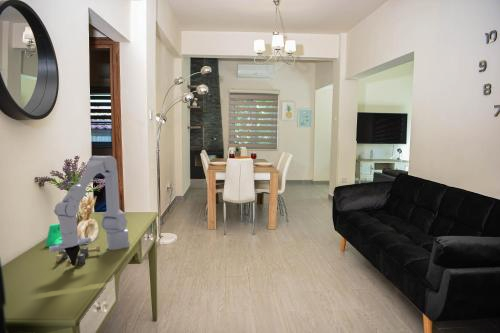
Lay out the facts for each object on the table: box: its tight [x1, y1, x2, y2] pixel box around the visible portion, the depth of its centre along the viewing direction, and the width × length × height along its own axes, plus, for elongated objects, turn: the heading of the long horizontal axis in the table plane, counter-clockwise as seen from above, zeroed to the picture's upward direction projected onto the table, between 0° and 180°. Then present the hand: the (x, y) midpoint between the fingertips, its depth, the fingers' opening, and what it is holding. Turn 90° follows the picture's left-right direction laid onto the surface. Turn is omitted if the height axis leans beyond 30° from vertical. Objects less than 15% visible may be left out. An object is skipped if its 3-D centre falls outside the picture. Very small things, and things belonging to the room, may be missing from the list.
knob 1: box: [55, 249, 69, 263], centre depth 140 cm, size 8×3×4 cm, turn 8°
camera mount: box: [45, 223, 62, 248], centre depth 163 cm, size 12×8×10 cm, turn 2°
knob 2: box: [64, 253, 86, 267], centre depth 135 cm, size 8×3×4 cm, turn 152°
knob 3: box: [79, 245, 101, 258], centre depth 145 cm, size 8×3×4 cm, turn 110°
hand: (73, 264), depth 132 cm, fingers closed, pressing on knob 2
